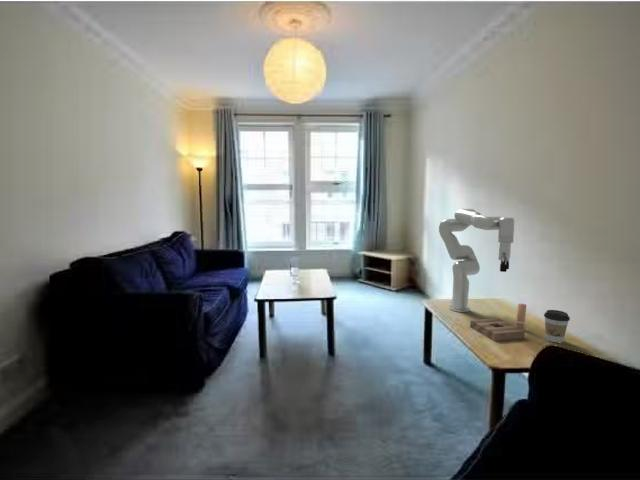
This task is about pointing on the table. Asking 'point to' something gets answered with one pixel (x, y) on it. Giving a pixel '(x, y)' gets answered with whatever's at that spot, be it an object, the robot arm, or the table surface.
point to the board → (497, 329)
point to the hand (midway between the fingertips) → (504, 270)
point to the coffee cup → (556, 325)
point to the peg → (521, 316)
